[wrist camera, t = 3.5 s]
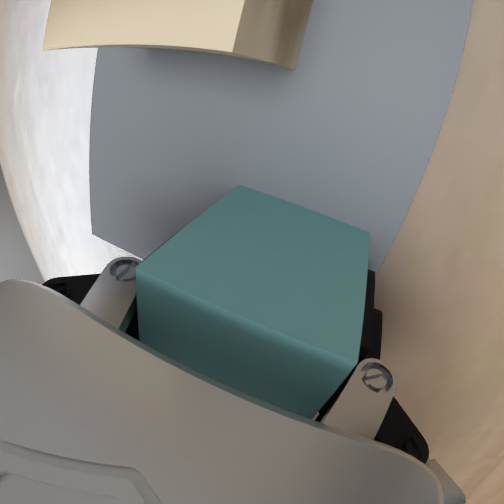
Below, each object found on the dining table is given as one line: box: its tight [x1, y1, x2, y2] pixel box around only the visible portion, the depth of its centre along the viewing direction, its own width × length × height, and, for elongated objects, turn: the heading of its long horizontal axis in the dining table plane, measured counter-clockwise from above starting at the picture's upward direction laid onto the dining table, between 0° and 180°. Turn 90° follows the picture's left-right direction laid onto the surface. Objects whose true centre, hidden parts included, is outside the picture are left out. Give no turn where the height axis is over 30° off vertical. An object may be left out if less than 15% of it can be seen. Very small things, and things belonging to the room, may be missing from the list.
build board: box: [89, 0, 473, 277], centre depth 10 cm, size 18×14×1 cm
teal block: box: [136, 185, 369, 419], centre depth 10 cm, size 5×5×6 cm
